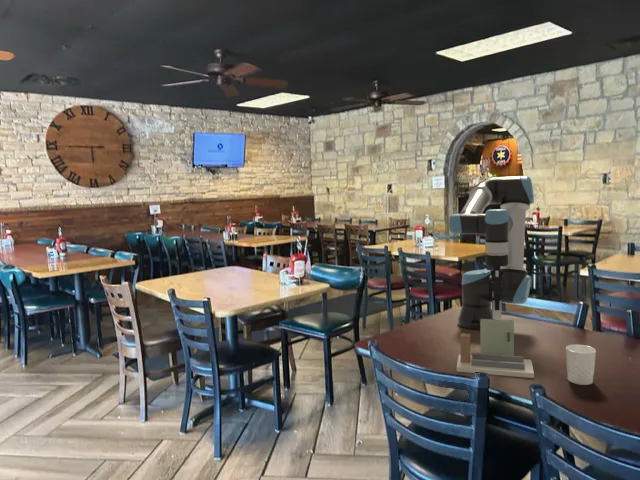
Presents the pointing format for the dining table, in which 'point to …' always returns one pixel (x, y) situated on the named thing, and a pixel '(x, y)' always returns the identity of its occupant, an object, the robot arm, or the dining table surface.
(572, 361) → the white cup
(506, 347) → the door panel
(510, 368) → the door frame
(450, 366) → the dining table surface
